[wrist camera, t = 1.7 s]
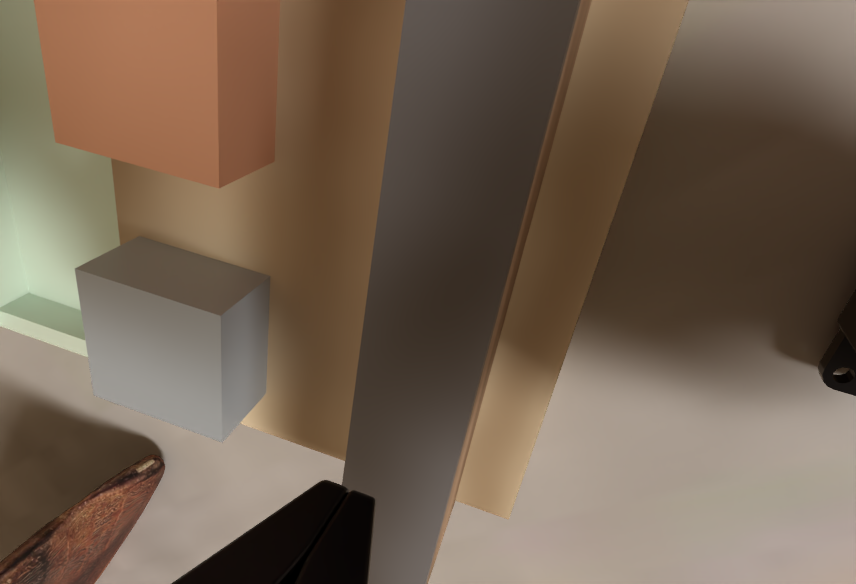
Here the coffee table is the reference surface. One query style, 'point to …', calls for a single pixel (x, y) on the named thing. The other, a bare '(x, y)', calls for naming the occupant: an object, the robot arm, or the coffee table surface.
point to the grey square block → (176, 334)
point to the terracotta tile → (165, 82)
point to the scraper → (449, 251)
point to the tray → (44, 197)
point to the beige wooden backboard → (358, 209)
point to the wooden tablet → (85, 531)
